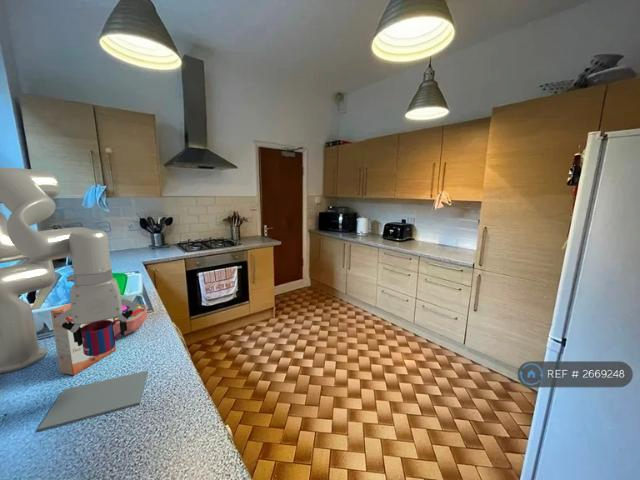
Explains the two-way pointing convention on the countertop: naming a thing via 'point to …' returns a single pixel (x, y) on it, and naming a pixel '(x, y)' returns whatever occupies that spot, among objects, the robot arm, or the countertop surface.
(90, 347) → the mug
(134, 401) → the rubber mat
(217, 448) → the countertop surface
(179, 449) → the countertop surface
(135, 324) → the cell model
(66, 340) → the cracker box
